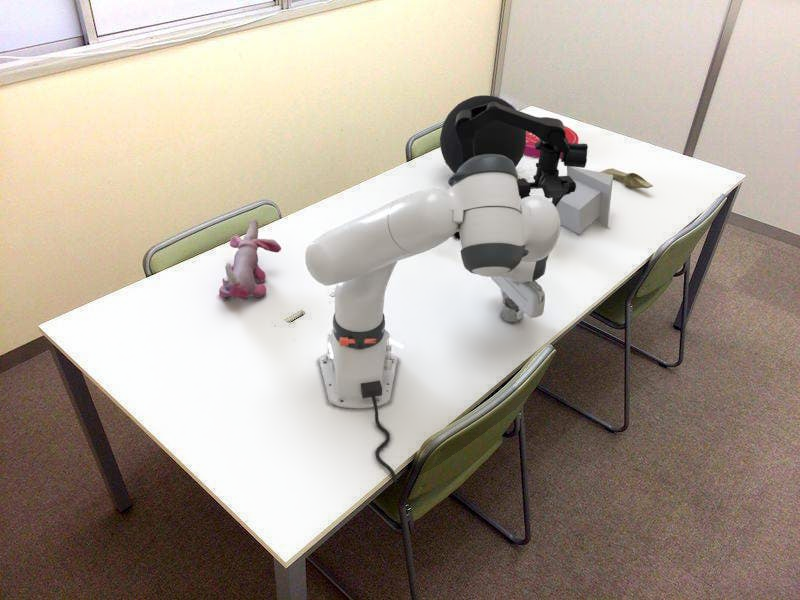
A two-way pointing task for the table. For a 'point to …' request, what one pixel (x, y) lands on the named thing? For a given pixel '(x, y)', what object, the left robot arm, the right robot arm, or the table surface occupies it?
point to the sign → (532, 139)
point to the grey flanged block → (586, 200)
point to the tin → (510, 311)
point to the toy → (247, 265)
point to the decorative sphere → (482, 135)
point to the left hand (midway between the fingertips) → (512, 310)
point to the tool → (629, 178)
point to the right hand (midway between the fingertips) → (538, 210)
